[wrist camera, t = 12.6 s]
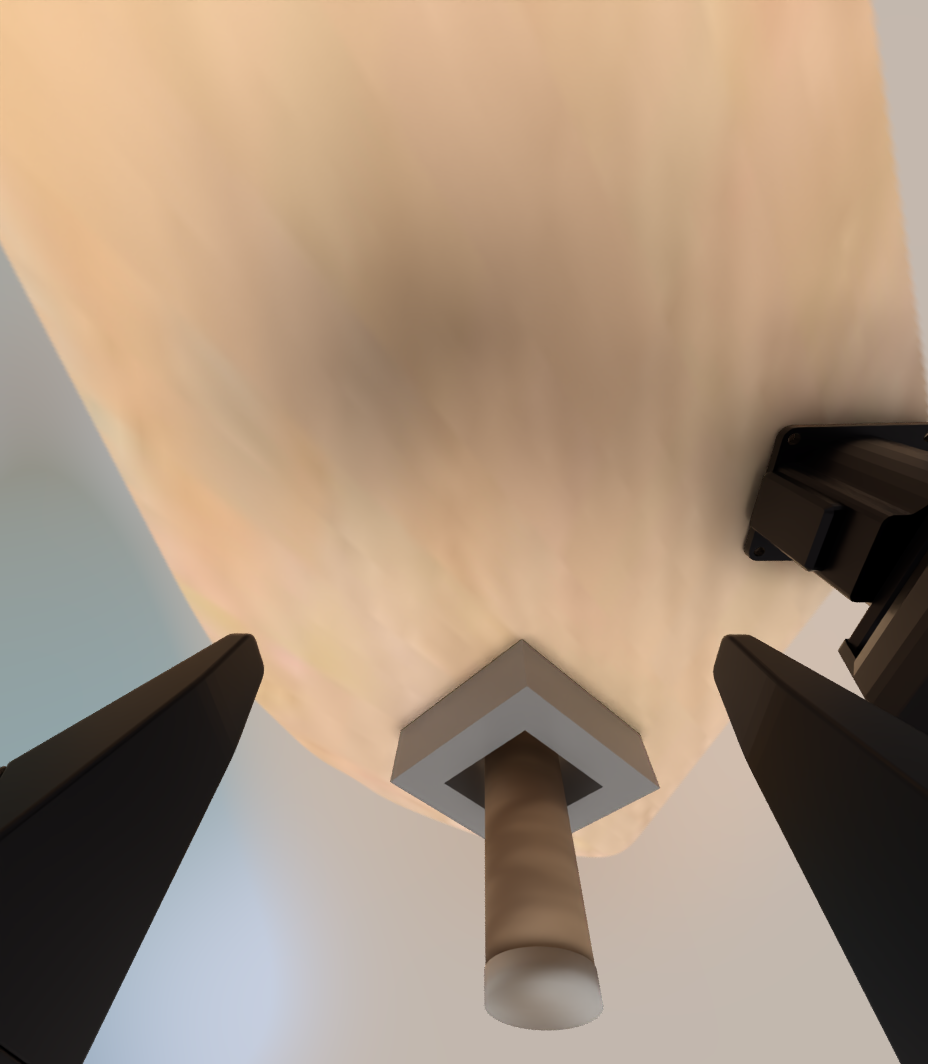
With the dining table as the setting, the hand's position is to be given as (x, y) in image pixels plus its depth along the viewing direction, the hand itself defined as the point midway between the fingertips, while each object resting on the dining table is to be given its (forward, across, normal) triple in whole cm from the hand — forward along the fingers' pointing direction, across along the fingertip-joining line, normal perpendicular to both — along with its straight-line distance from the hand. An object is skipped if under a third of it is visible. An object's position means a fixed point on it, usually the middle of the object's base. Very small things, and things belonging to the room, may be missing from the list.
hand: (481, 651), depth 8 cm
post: (+13, -2, +18) cm, 23 cm away
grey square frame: (+13, -2, +18) cm, 23 cm away
